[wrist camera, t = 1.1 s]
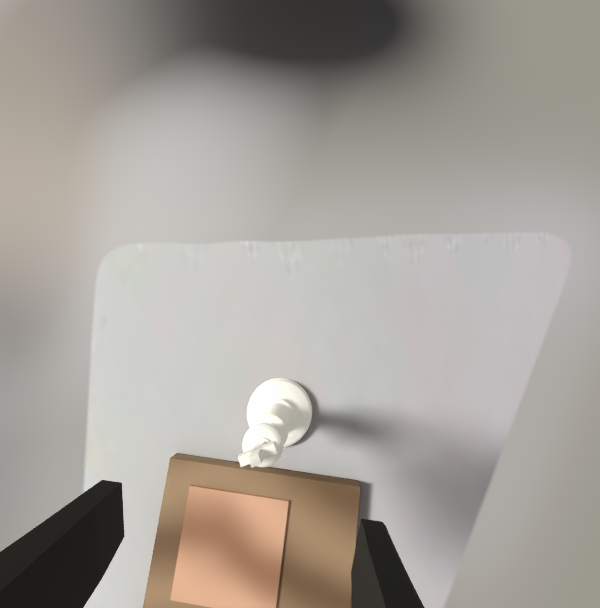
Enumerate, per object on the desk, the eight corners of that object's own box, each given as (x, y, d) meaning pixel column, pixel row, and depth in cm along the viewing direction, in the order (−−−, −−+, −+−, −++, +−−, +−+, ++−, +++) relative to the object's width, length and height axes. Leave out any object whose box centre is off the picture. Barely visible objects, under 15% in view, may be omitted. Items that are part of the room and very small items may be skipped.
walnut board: (341, 676, 19) (343, 698, 18) (143, 638, 20) (132, 657, 19) (358, 480, 21) (360, 488, 20) (176, 453, 22) (169, 459, 20)
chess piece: (321, 432, 21) (331, 500, 12) (259, 455, 21) (216, 544, 12) (299, 368, 22) (290, 382, 12) (239, 391, 22) (182, 423, 12)
